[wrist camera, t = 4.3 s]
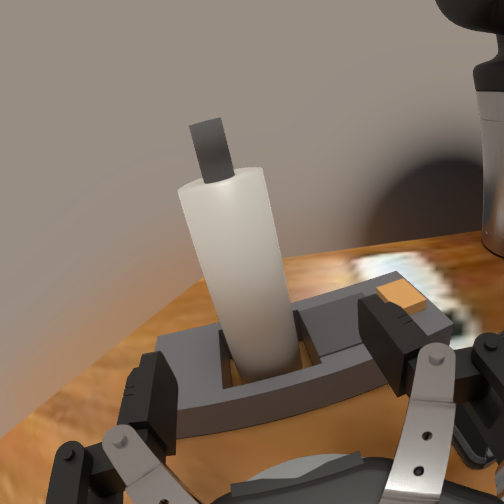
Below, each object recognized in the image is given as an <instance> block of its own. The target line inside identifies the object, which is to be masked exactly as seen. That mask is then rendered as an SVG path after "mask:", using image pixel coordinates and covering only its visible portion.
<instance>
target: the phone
mask: <svg viewBox="0 0 504 504" xmlns="http://www.w3.org/2000/svg"><path fill="white" fill-rule="evenodd" d="M498 335H499V336H501V337H502V338H503V339H504V331H503V332H501V333H500V334H498ZM451 443H452V444H453V446H454V447H455V449H456V450H457V452H458V453H459V455H460V457H461V458H462V460H463V461H464V463H465V464H466V465H467V466H468V467H470V468H472V469H483V468H485V467H487V466H489V465H490V464H492V463H493V462H494V461H496V459H495V458H494V456H493V454H492V452H491V451H490V449H489V447H488V445H487V444H486V442H485V440H484V439H483V437H482V435H481V434H480V432H479V430H478V429H477V427H476V426H475V424H474V422H473V421H472V419H471V418H470V416H469V414H468V413H467V411H466V410H465V408H464V407H463V405H462V403H459V404H456V409H455V418H454V426H453V434H452V440H451Z"/></svg>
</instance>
